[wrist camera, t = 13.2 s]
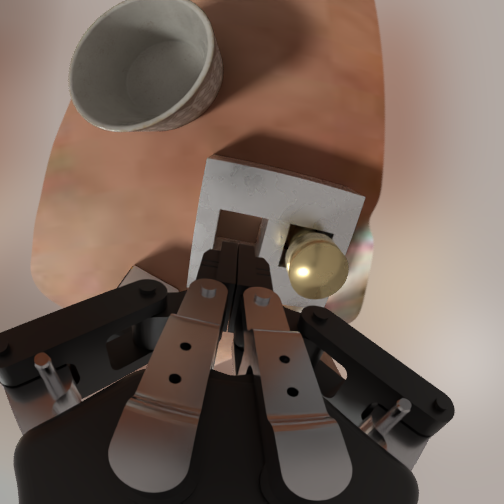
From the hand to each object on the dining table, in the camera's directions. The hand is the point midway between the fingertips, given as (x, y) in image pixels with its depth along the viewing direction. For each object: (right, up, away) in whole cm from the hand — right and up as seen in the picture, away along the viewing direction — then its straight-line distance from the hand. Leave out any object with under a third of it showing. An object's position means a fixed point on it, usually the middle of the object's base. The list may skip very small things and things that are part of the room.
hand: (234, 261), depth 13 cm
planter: (-8, +20, +12) cm, 24 cm away
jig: (+3, +3, +19) cm, 20 cm away
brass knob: (+6, +3, +20) cm, 21 cm away
